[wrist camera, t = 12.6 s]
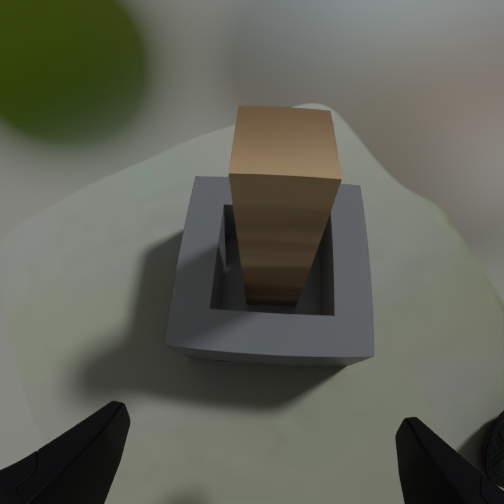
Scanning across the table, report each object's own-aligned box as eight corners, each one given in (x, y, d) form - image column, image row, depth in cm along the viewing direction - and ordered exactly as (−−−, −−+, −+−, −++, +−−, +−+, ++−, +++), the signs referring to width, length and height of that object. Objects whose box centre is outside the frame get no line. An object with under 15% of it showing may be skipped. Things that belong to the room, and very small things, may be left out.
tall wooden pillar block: (295, 306, 19) (341, 179, 8) (246, 304, 19) (228, 173, 8) (296, 261, 20) (330, 110, 9) (249, 259, 20) (238, 105, 9)
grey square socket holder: (347, 365, 18) (373, 356, 13) (186, 356, 18) (164, 344, 14) (343, 225, 22) (360, 185, 18) (206, 218, 22) (195, 176, 18)
